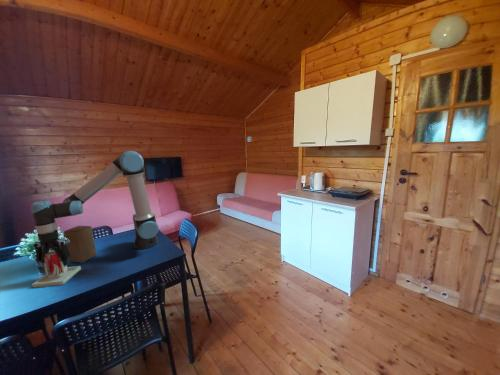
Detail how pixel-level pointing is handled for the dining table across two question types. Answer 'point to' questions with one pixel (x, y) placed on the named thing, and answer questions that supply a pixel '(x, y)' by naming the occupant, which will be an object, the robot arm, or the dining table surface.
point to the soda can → (53, 263)
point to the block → (80, 243)
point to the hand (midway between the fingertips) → (57, 271)
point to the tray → (56, 278)
